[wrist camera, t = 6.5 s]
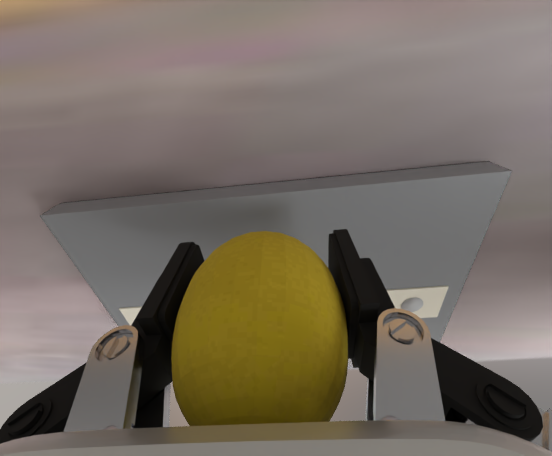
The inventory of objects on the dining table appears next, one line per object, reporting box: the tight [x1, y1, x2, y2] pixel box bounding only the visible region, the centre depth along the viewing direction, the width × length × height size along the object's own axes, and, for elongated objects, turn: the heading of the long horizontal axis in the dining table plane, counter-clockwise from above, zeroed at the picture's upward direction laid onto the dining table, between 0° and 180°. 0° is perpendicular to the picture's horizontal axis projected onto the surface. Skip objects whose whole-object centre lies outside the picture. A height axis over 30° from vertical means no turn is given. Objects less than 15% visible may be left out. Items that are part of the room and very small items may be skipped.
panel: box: [40, 161, 512, 342], centre depth 17 cm, size 24×14×2 cm, turn 96°
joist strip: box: [119, 286, 449, 325], centre depth 17 cm, size 22×3×1 cm, turn 96°
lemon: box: [171, 231, 348, 426], centre depth 8 cm, size 6×6×8 cm
